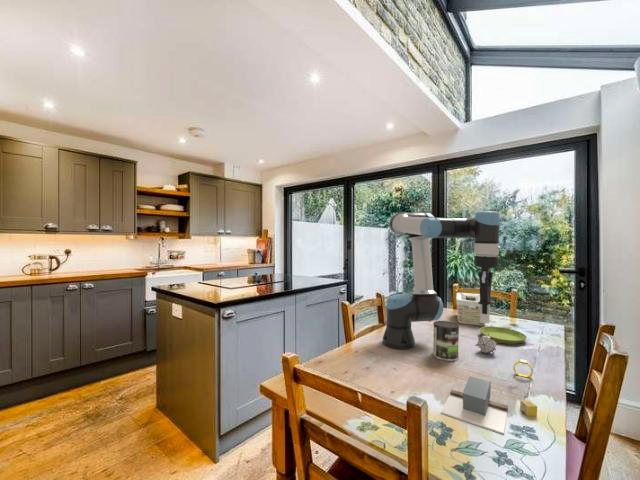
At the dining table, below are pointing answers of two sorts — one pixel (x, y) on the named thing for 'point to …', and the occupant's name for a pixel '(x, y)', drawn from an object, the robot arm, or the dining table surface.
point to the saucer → (503, 335)
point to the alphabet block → (528, 408)
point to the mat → (476, 415)
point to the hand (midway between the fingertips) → (484, 322)
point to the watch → (523, 363)
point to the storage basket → (468, 309)
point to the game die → (486, 344)
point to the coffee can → (446, 340)
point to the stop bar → (491, 403)
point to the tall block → (477, 395)
